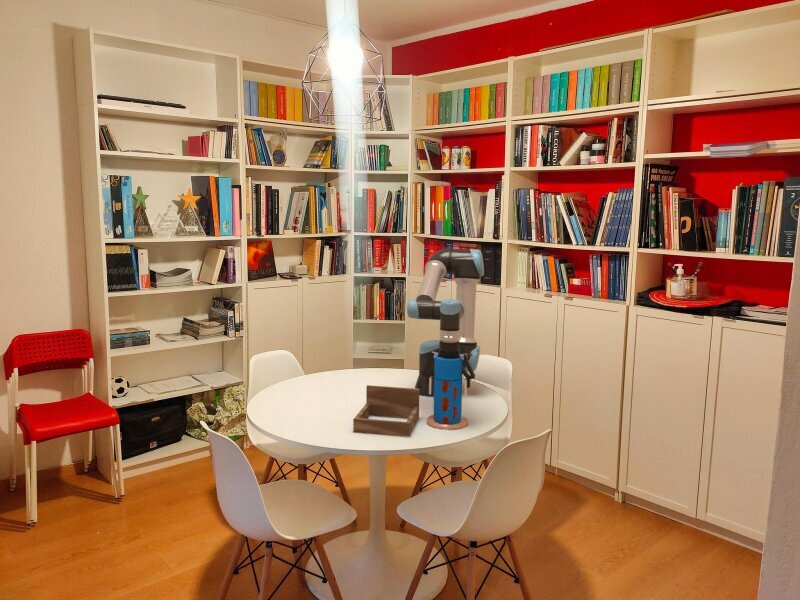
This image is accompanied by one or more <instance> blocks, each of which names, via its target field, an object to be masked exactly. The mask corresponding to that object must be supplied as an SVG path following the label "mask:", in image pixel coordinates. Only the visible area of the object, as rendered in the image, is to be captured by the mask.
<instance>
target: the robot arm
mask: <svg viewBox="0 0 800 600" xmlns="http://www.w3.org/2000/svg"><path fill="white" fill-rule="evenodd" d="M484 266H485V265H484V257H483V253H482V251H481V250H479V249H474V248H444V249H440V250H438V251H437V252H435V253H434V254H433V255H431V256H430V257H429V258H428V260H427V261H426V263H425V267H424V275H423V278H422V281H421V284H420V286H419V290H418V292H417V295H416V299H415V298H414V299H410V300H408V302H407V305H406V311H407V317H408V318H409V319H414V320H415V319H417V320H432V321H433V320H435V321H439V339H431V340H426V341H424V342H421V344H420V345H419V352H418V357H419V358H418V359H419V361H418V362H419V363H418V376H417V378H416V379H417V380H416V382H415V385H414V389H420V390H419V396H424V395H426V397H434V360H435V357H436V356H438V357H443V358H452V359H454V358H460V357H461V358H462V360H463V368H462V376H464V391H463V392H464V396H463V397H464V398H467V395H468V389H470V387H471V380H474V379H475V378H476V374H475V371H476V369H477V368H478V364H479V360H480V354H481V346H479V345H478V341H477V340H476V339H475V321H476V303H477V302H476V301H477V300H476V298H477V296H476V295H477V285H478V283H479V282H480V281H481V277H483V276H484V275H485V267H484ZM447 275H449V276H453V280H454V282H456V297H455V299H451V298H450V299H443V300H436V299H437V295H438V292H439V288H440V285H441V282H442V280H443V278H445V276H447Z"/></svg>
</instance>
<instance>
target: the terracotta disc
mask: <svg viewBox="0 0 800 600" xmlns="http://www.w3.org/2000/svg"><path fill="white" fill-rule="evenodd" d="M467 424H469V419H467V418H466V417H464V416H462V415H461V421H460V423H457V424H453V425H445V424H439V423H436V422H435V421H434V414H432V415H430V416H427V418H426V425H428V426H429V427H431V428H433V429H436V428H438V430H442V429H457V430H460V429H459V428H462V429H464V428H466V427H467V426H468V425H467ZM466 425H467V426H466ZM465 426H466V427H465ZM463 427H464V428H463Z"/></svg>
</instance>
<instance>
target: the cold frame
mask: <svg viewBox="0 0 800 600" xmlns="http://www.w3.org/2000/svg"><path fill="white" fill-rule="evenodd" d="M365 388H366V391H365V392H366V393H365V394H366V395H365V396H366V397H365V398H366V401H365V404H364V406H363V407H362V408H361V409H360V410H359V411H358V413H357V414H356V416H355V417H354V418H353V419H352V420H353V422H352V423H353V426H352V432H353V433H359V434H369V435H370V434H372V435H383V436H395V437H405V438H410V437H411V435H412V433H413V432H414V431H413V430H414V429H415V426H416V425H417V423H418V421H419V419H420V394H419V390H420V389H415V387H414V388H413V387H412V388H411V387H397V386H396V387H395V386H382V385H371V384H370V385H368V384H367V385H366V387H365ZM370 417H382V418H393V419H404V420H405V419H407V420H406V421H397V420H389V419H388V420H384V419H373V418H370Z"/></svg>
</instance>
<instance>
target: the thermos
mask: <svg viewBox="0 0 800 600" xmlns="http://www.w3.org/2000/svg"><path fill="white" fill-rule="evenodd" d="M462 368H463V360H462V358H461V357H460V358H454V359H452V358H443V357H438V356H436V357H435V360H434V396H433V415H434V421H435V422H436V423H439V424H445V425H453V424H457V423H460V421H461V416H462V411H463V410H462V409H463V407H462V404H463V403H462V402H463V374H462Z"/></svg>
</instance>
